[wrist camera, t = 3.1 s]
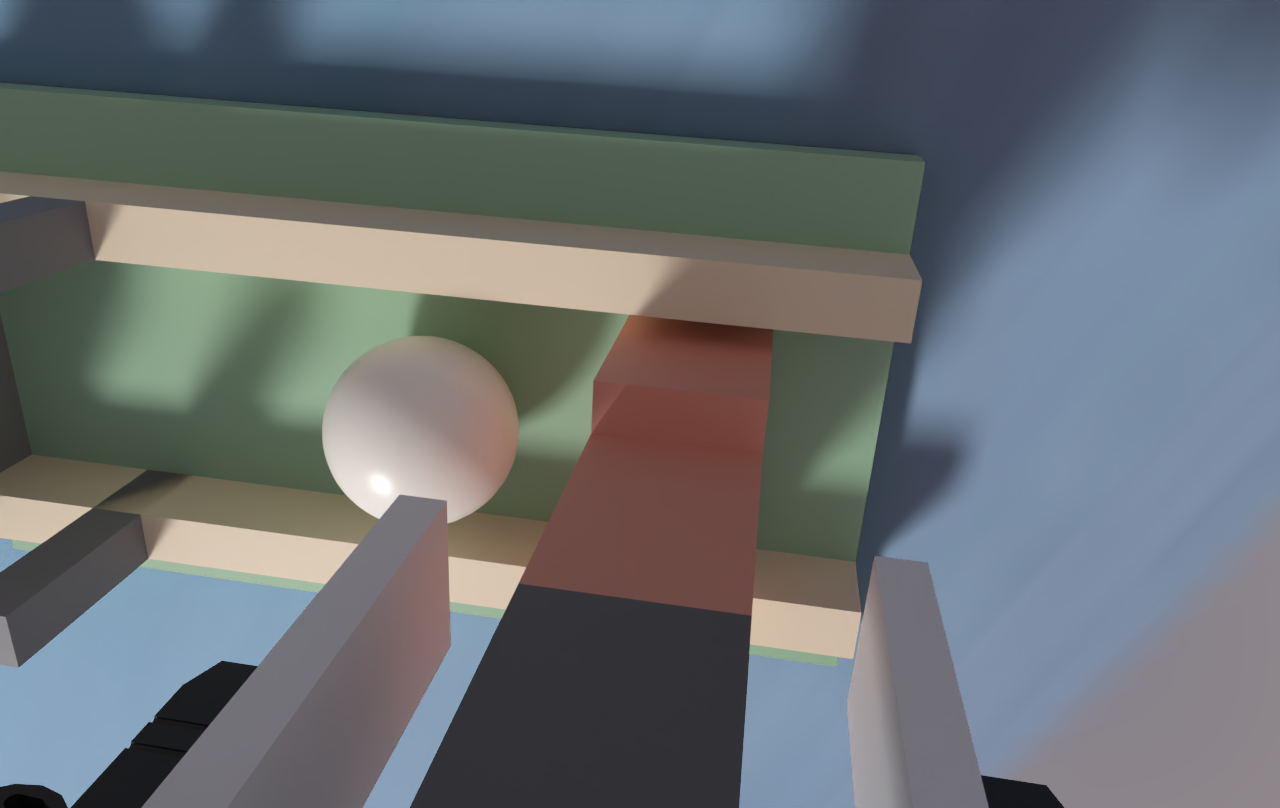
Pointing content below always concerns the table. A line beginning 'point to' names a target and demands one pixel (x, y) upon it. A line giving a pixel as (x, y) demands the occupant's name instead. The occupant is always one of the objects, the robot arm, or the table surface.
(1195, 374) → the table surface
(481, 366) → the ball
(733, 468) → the black and red block
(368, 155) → the pitch
